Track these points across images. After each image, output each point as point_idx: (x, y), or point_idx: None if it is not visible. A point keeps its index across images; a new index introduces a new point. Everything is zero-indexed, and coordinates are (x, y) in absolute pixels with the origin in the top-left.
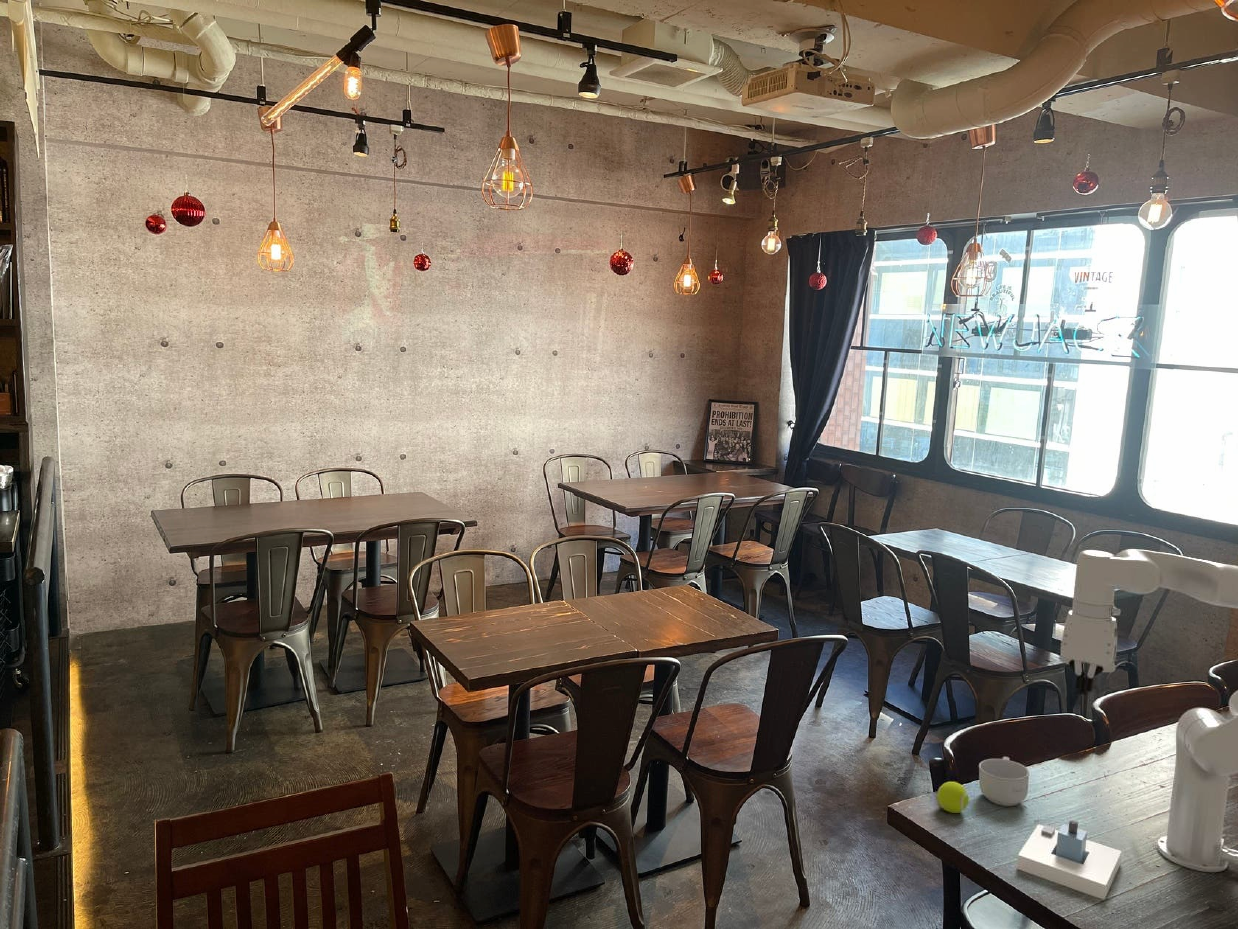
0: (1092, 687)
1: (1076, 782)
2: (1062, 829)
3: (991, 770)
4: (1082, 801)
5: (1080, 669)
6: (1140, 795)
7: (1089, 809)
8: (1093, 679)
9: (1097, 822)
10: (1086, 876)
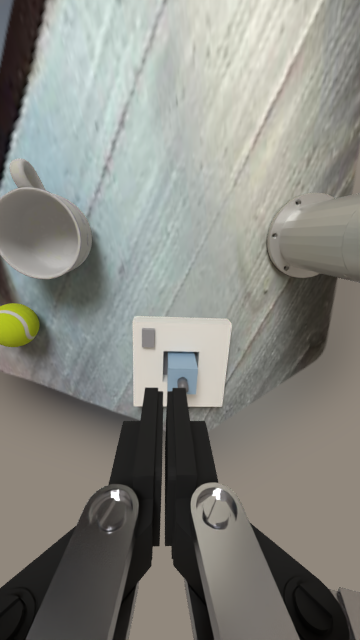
0: (205, 431)
1: (137, 55)
2: (170, 383)
3: (14, 206)
4: (161, 147)
5: (124, 628)
6: (244, 33)
7: (175, 173)
8: (215, 471)
9: (192, 215)
10: (203, 403)
